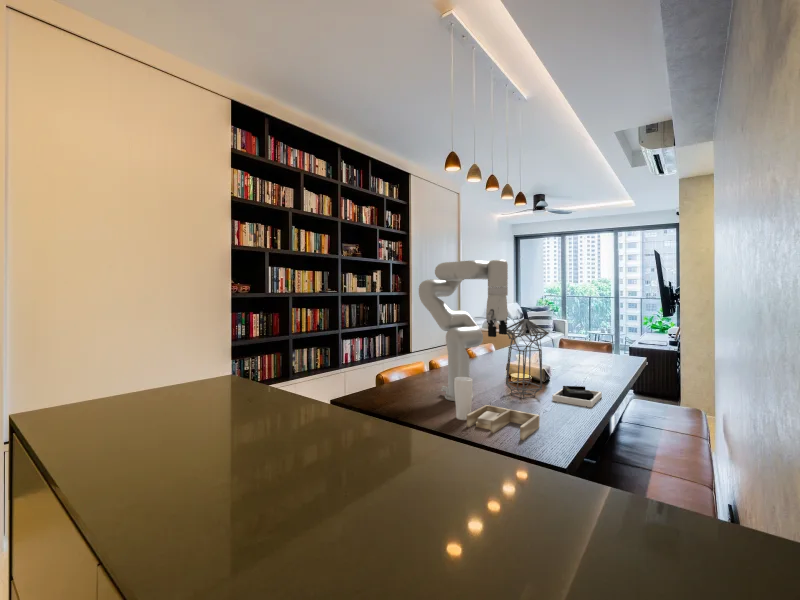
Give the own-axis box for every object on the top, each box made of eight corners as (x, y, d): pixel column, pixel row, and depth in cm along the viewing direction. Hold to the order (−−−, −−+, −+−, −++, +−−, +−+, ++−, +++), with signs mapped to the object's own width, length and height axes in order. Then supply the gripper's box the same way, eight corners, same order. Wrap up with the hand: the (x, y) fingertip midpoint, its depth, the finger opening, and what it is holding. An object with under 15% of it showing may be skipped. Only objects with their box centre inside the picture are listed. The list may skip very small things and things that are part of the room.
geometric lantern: (527, 390, 187) (529, 317, 185) (549, 399, 172) (551, 320, 170) (498, 392, 182) (500, 317, 180) (518, 402, 167) (521, 321, 165)
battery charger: (593, 403, 164) (593, 393, 164) (569, 402, 166) (569, 393, 165) (585, 395, 176) (585, 386, 176) (562, 394, 178) (562, 385, 178)
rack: (466, 429, 135) (466, 414, 135) (486, 417, 147) (486, 404, 147) (523, 443, 123) (523, 427, 123) (539, 429, 135) (539, 415, 134)
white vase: (472, 422, 141) (472, 381, 140) (453, 421, 142) (453, 380, 142) (472, 416, 147) (472, 377, 147) (454, 415, 149) (454, 376, 148)
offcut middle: (475, 427, 135) (475, 422, 135) (486, 418, 144) (486, 414, 144) (491, 430, 132) (491, 425, 132) (501, 421, 141) (501, 417, 141)
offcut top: (477, 422, 135) (477, 418, 135) (486, 415, 143) (486, 410, 143) (491, 425, 133) (491, 420, 133) (500, 417, 140) (500, 413, 140)
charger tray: (552, 400, 169) (552, 395, 169) (564, 391, 183) (565, 386, 183) (591, 407, 159) (591, 401, 159) (601, 397, 173) (601, 391, 173)
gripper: (498, 291, 162) (498, 332, 162) (478, 292, 148) (478, 337, 149) (515, 291, 157) (515, 334, 157) (497, 292, 143) (497, 338, 144)
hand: (497, 335), depth 153 cm, fingers open, 9 cm apart
